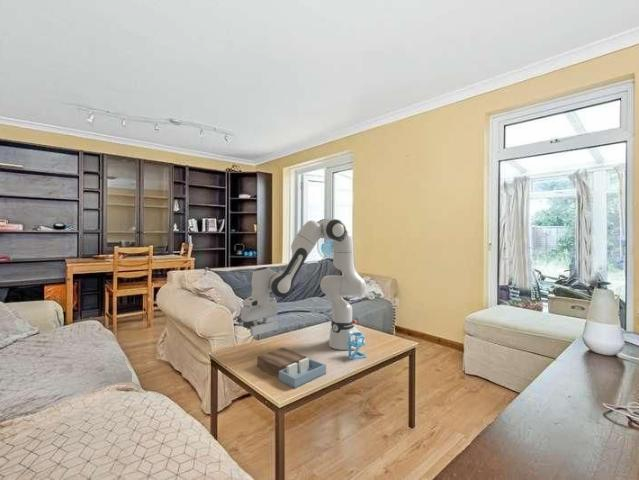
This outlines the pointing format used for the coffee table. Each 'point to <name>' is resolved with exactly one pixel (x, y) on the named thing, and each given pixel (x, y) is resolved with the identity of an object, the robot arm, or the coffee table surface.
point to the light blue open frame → (356, 345)
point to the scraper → (261, 327)
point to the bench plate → (278, 360)
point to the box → (303, 374)
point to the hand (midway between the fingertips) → (259, 327)
